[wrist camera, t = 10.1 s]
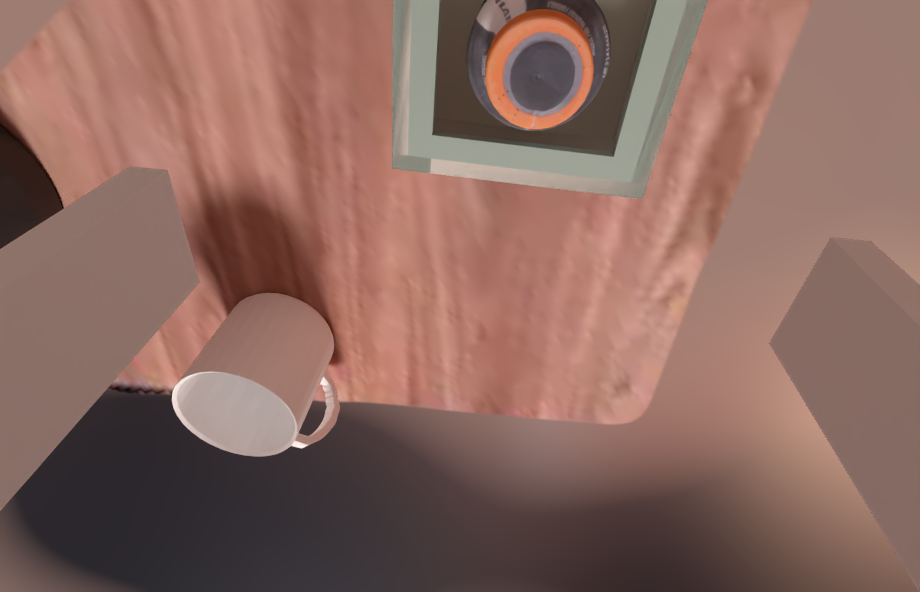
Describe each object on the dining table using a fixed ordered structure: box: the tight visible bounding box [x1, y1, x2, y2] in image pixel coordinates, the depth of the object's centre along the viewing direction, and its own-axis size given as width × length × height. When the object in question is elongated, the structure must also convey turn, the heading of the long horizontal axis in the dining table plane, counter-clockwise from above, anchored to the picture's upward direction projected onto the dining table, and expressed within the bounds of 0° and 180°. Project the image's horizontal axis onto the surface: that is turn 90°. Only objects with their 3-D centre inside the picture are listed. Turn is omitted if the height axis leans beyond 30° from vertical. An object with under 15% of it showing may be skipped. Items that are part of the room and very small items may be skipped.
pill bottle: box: [466, 0, 611, 131], centre depth 23 cm, size 6×6×11 cm
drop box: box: [392, 0, 708, 199], centre depth 25 cm, size 13×13×7 cm
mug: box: [172, 293, 340, 456], centre depth 41 cm, size 12×9×9 cm
